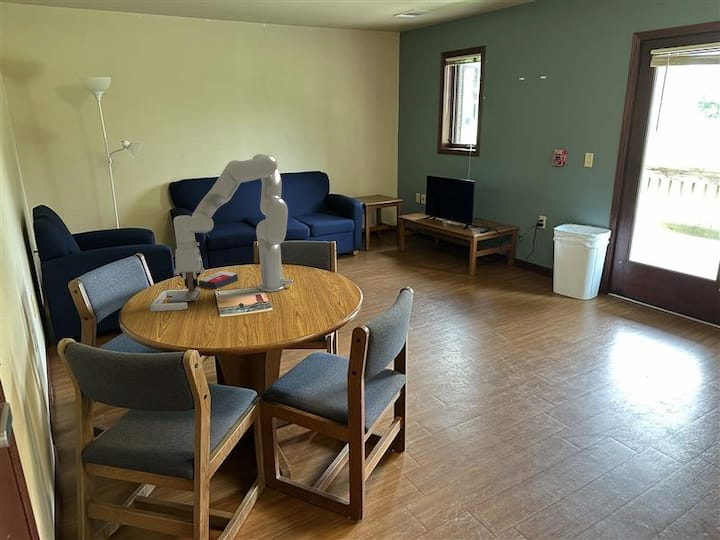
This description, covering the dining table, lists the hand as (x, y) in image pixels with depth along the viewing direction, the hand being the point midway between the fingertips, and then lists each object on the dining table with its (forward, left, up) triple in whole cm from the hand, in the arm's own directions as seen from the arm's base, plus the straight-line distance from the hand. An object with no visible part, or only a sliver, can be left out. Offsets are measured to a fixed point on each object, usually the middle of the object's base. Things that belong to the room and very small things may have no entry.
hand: (191, 287), depth 211 cm
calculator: (-6, -24, -7) cm, 26 cm away
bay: (+8, 0, -7) cm, 10 cm away
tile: (+6, 0, -7) cm, 9 cm away
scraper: (0, 0, -5) cm, 5 cm away
